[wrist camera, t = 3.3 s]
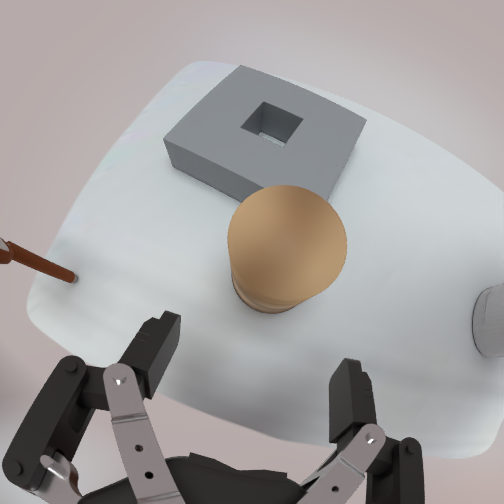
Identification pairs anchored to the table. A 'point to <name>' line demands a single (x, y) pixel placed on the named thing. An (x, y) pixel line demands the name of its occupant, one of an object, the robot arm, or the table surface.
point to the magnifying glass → (33, 261)
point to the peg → (284, 247)
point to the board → (257, 148)
